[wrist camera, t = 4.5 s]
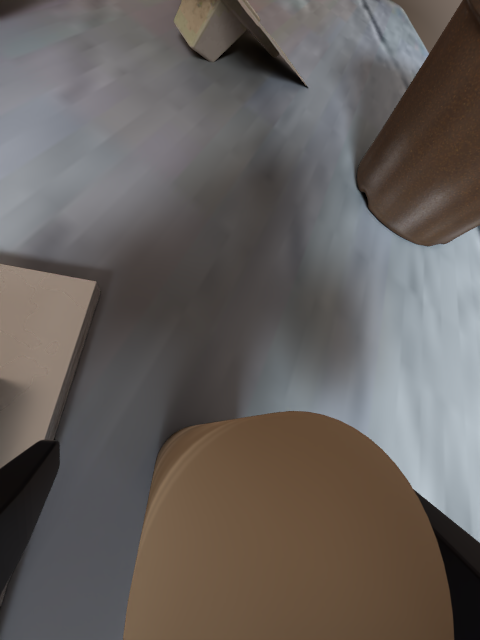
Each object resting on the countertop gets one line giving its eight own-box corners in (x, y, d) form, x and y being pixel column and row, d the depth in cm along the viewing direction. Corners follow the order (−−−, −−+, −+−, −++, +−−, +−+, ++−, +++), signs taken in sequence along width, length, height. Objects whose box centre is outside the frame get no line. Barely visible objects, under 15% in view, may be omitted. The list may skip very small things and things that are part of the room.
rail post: (194, 534, 13) (363, 1078, 2) (136, 472, 13) (22, 660, 2) (247, 462, 15) (488, 551, 4) (196, 409, 15) (284, 353, 4)
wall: (179, 41, 35) (75, -100, 21) (229, -29, 31) (145, -253, 17) (251, 147, 35) (196, 76, 21) (309, 89, 31) (289, -42, 17)
